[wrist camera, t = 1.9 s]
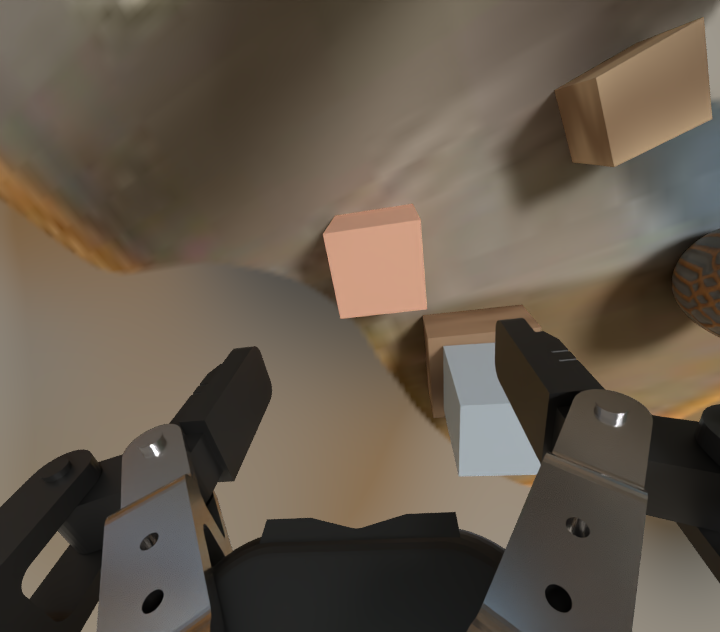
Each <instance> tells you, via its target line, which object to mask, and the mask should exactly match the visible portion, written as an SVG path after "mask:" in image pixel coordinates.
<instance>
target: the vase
mask: <svg viewBox="0 0 720 632" xmlns="http://www.w3.org/2000/svg"><path fill="white" fill-rule="evenodd" d="M672 291H673V295H674V297H675V299H676V301H677V303H678V305H679V306H680V308H681V309H682V310H683V312H684V313H685V314H686V315H687V316H688V317H689V318H690V319H691V320H692V321H694V322H695V323H696V324H698V325H699V326H700V327H702V328H704V329H705V330H707V331H708V332H710V333H712V334H714V335H716V336H718V337H720V229H717V230H715V231H713V232H711V233H709V234H707V235H705V236H704V237H702V238H701V239H699V240H698V241H696V242H695V243H694V244H693V245H692V246H690V247H689V248H688V249H687V250H686V251H685V252H684V254H683V255H682V256H681V258H680V259H679V261H678V262H677V264H676V267H675V269H674V272H673V276H672Z"/></svg>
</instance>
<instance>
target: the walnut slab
mask: <svg viewBox="0 0 720 632" xmlns="http://www.w3.org/2000/svg"><path fill="white" fill-rule="evenodd" d="M515 318H524V319H525V320H526V321H527V323H528V324H529V325H530V326H531V327H532V329H533V330H534V331H535V332H540V331H541V326H540V325H539V324H538V323H537V322H536V320H535V319H534V318H533V317H532V316H531V314H530V313H529V312H528V311H527V310H526V309H525V307H524V306H523V305H515V306H506V307H496V308H487V309H478V310H469V311H459V312H450V313H441V314H432V315H423V326H424V339H425V352H426V364H427V377H428V390H429V395H430V401H431V406H432V412H433V417H434V418H441V417H445V412H444V373H443V346H452V345H466V344H481V343H495V328H496V322H497V321H498V320H505V319H515Z"/></svg>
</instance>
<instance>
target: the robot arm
mask: <svg viewBox="0 0 720 632" xmlns="http://www.w3.org/2000/svg"><path fill="white" fill-rule="evenodd" d="M495 369H496V374H497V378H498V380H499V382H500V384H501V386H502V388H503V390H504V392H505V394H506V396H507V398H508V400H509V402H510V404H511V406H512V408H513V410H514V412H515V414H516V416H517V418H518V420H519V422H520V424H521V426H522V428H523V430H524V432H525V434H526V436H527V438H528V440H529V442H530V444H531V446H532V448H533V450H534V452H535V454H536V456H537V458H538V460H539V462H540V464H541V466H540V468H539V470H538V473H537V475H536V478H535V480H534V482H533V485H532V487H531V490H530V492H529V494H528V497H527V499H526V502H525V504H524V506H523V509H522V511H521V514H520V516H519V518H518V521H517V523H516V525H515V528H514V530H513V533H512V535H511V537H510V540H509V542H508V545H507V547H506V549H504V548H502V547H501V546H499V545H498V544H496V543H494V542H492V541H491V540H489V539H487V538H484V537H482V536H480V535H477V534H474V533H472V532H469V531H465V530H461V529H459V527H458V523H457V517H456V513H455V512H448V513H422V514H405V515H402V516H399V517H395V518H392V519H389V520H386V521H382V522H379V523H376V524H373V525H370V526H366V527H363V528H358V529H355V528H349V527H345V526H341V525H337V524H333V523H329V522H325V521H321V520H317V519H313V518H297V519H271V520H267V521H266V524H265V528H264V531H263V534H262V537H260V538H257V539H255V540H252V541H250V542H248V543H246V544H244V545H242V546H241V547H239V548H237V549H235V550H234V551H233V549H232V546H231V543H230V539H229V536H228V533H227V529H226V526H225V522H224V519H223V516H222V512H221V509H220V505H219V502H218V498H217V496H216V494H215V492H214V488H215V486H216V484H217V482H227V481H234V480H235V478H236V476H237V474H238V471H239V469H240V467H241V465H242V462H243V460H244V458H245V456H246V453H247V451H248V449H249V447H250V444H251V442H252V440H253V437H254V435H255V433H256V431H257V429H258V426H259V424H260V422H261V420H262V417H263V415H264V413H265V411H266V409H267V406H268V404H269V402H270V399H271V395H272V386H271V381H270V378H269V375H268V373H267V370H266V367H265V364H264V361H263V358H262V355H261V352H260V350H259V349H258V348H257V347H255V346H254V347H245V348H236V349H233V350H232V351H231V353H230V354H229V355H228V357H227V358H226V359H225V361H224V362H223V363H222V364H220V365H219V366H217V367H216V368H215V369H213V370H212V371H211V372H210V373H208V374H207V376H206V377H205V378H204V379H203V381H202V382H201V383H200V386H198V387H197V388H196V390H195V391H194V392H193V395H191V396H190V397H189V399H188V400H187V401H186V403H185V404H184V405H183V407H182V408H181V409H180V410H179V412H178V413H177V414H176V416H175V417H174V418H173V420H172V421H171V422H170V423H169V424H164V425H160V426H157V427H154V428H152V429H150V430H148V431H146V432H144V433H143V434H141V435H140V436H139V437H137V438H136V439H135V440H133V442H131V443H130V444H129V446H128V447H127V448H126V450H125V451H124V453H123V455H120V456H116V457H113V458H110V459H107V460H104V461H101V462H97V460H96V459H95V458H94V456H93V455H92V454H91V453H90V451H88V450H76V451H72V452H69V453H66V454H64V455H62V456H60V457H58V458H56V459H54V460H52V461H51V462H49V463H48V464H46V465H45V466H43V467H42V468H41V469H39V470H38V471H37V472H36V473H35V474H34V475H33V476H31V478H29V480H27V481H26V482H25V484H23V485H22V486H21V487H20V488H19V489H18V490H17V491H16V492H15V493H14V494H13V495H12V496H11V497H10V498H9V499H8V500H7V501H6V502H5V503H4V504H3V505H2V506H1V507H0V632H81V630H82V628H83V627H84V625H85V623H86V621H87V620H88V618H89V616H90V615H91V613H92V611H93V609H94V608H95V606H96V604H97V602H98V601H99V606H98V620H97V632H632V625H633V617H634V609H635V600H636V592H637V584H638V576H639V567H640V559H641V551H642V543H643V534H644V525H645V517H646V515H649V516H653V517H658V518H662V519H666V520H671V521H675V522H676V523H677V524H678V526H679V527H680V528H681V530H682V531H683V533H684V534H685V535H686V537H687V538H688V540H689V541H690V542H691V544H692V545H693V547H694V548H695V549H696V551H697V552H698V554H699V555H700V556H701V558H702V559H703V560H704V562H705V563H706V565H707V566H708V568H709V569H710V570H711V572H712V573H713V574H714V576H715V577H716V579H717V580H718V581H719V583H720V404H718V405H713V406H710V407H708V408H706V409H705V410H704V411H703V413H702V416H701V419H700V421H699V422H697V421H689V420H682V419H674V418H667V417H660V416H654V415H651V413H650V412H649V410H648V409H647V408H646V407H645V406H644V405H642V404H641V403H640V402H638V401H637V400H635V399H633V398H631V397H629V396H627V395H624V394H622V393H618V392H615V391H610V390H605V389H604V388H603V387H602V386H601V385H600V383H599V382H598V381H597V380H596V379H595V378H594V377H593V376H592V375H591V374H590V373H589V372H588V371H587V369H586V368H585V367H584V366H583V365H582V364H581V363H580V362H579V361H578V360H576V358H575V356H574V355H573V354H572V353H571V352H570V351H569V352H568V349H567V348H566V347H565V346H564V345H563V343H562V342H561V341H560V340H559V339H557V338H555V337H553V336H552V335H550V334H548V333H546V332H544V331H540V332H535V331H534V330H533V329H532V327H531V326H530V325H529V324H528V323H527V321H526V320H525V319H524V318H515V319H505V320H498V321H497V322H496V328H495ZM57 531H58V532H59V533H60V534H61V535H62V536H63V537H64V538H65V539H66V540H67V541H68V543H69V544H70V545H69V547H68V548H67V550H66V551H65V552H64V553H63V555H62V556H61V557H60V559H59V560H58V562H57V563H56V564H55V565H54V567H53V568H52V569H51V571H50V572H49V574H48V575H47V576H46V578H45V579H44V580H43V582H42V583H41V585H40V586H39V587H38V588H37V590H36V591H35V592H34V594H33V595H32V597H31V598H30V599H28V598H27V597H25V595H24V594H23V593H22V589H21V584H22V579H23V576H24V574H25V572H26V570H27V569H28V567H29V566H30V564H31V563H32V562H33V560H34V559H35V558H36V557H37V556H38V554H39V553H40V552H41V551H42V549H43V548H44V547H45V546H46V544H47V543H48V542H49V541H50V539H51V538H52V537H53V536H54V534H55V533H56V532H57Z"/></svg>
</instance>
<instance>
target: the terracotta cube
mask: <svg viewBox="0 0 720 632" xmlns="http://www.w3.org/2000/svg"><path fill="white" fill-rule="evenodd" d="M323 237H324V242H325V247H326V251H327V256H328V261H329V266H330V271H331V275H332V280H333V285H334V290H335V295H336V300H337V304H338V309H339V314H340V318H341V319H344V318H353V317H362V316H371V315H379V314H388V313H397V312H406V311H415V310H424V309H427V301H426V287H425V273H424V259H423V246H422V232H421V219H420V217H419V215H418V214H417V212H416V210H415V208H414V206H413V204H408V205H402V206H395V207H389V208H382V209H375V210H369V211H362V212H356V213H349V214H343V215H336V216H334V218H333V219H332V221H331V222H330V224H329V225H328V227H327V228H326V230H325V231H324V233H323Z"/></svg>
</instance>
